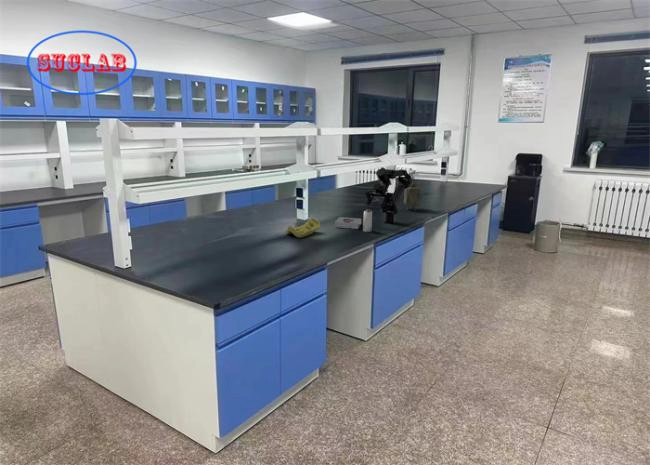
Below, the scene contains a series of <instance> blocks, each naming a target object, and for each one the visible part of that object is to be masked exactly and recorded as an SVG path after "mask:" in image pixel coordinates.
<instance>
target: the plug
mask: <svg viewBox="0 0 650 465" xmlns="http://www.w3.org/2000/svg"><path fill="white" fill-rule="evenodd" d="M372 227H373V211H372V209H365V210H364V211H363V223H362V232H366V233H370V232H372Z"/></svg>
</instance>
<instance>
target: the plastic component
mask: <svg viewBox="0 0 650 465" xmlns="http://www.w3.org/2000/svg"><path fill="white" fill-rule="evenodd" d="M320 227H321V223H320V222H319V220H317V219H316V218H314V217H313V218H311V219H309V221H306V222H305V224H303V225H300V226H297V227H293V226H292V225H289V226H288V228H287V229H286V231H285V234H286V235H291V234H293V235H294V236H295V237H296V238H299V239H301V238H304V237H306V236H309V235H312V234H314V232H315V231H317V230H318V229H320Z"/></svg>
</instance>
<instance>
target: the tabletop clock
mask: <svg viewBox="0 0 650 465" xmlns="http://www.w3.org/2000/svg"><path fill="white" fill-rule="evenodd" d="M411 178H412V184H411V185H410V187H409V188H406V189H405V190H404V191H403V204H404V205H406V206H407V208H406V210H407V211H408V210H410V207H411V209H414V212H417V211H418V210H417V209H416V207H419V206H420V196H421V195H420V192H421V188H420V187H419V186H418V185H417V184H416V182H415V176H411Z"/></svg>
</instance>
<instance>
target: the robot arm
mask: <svg viewBox="0 0 650 465" xmlns="http://www.w3.org/2000/svg"><path fill="white" fill-rule="evenodd" d="M385 168H386V167H384V166H383V167H382V166H381V167H380V168H379V169H377V170H376V172H375V176H377V179H378V181H379V183H377V182H374V183H373V185H372V190H373V191H372V190H371V189H366V190H364V192H363V194H364V195H365V197H366V198H367V204H366V207H369V206H370V205H371V203H372V202H373V199H374V197H377V198H383V201H382V203H381V206H380V209H381V210H382V211H381V212H382V213H384V214H385V218H384V222H383V223H385V224H395V223H396V222H395V221H396V220H395V215H397V214H398V212H399V208H398V206H397V202H398V200H399V199H400V198H401V196H402V195H403V194H404V190H405V189H406V188H409V187H410V185H411V184H412V176H411V175H410V174H409V172H408V170H407V169H389V168H388V169H387V168H386V169H385ZM396 178H397V181H398V185H397V187H396V188H395V190H394V191H393V192H389V190H388V189H389V187H390V186H392V181H391V180H395V179H396Z"/></svg>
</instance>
